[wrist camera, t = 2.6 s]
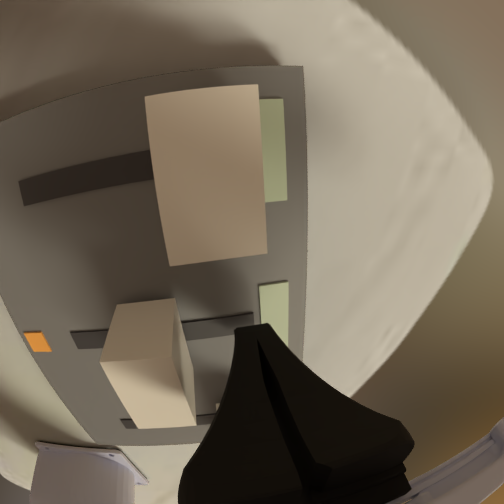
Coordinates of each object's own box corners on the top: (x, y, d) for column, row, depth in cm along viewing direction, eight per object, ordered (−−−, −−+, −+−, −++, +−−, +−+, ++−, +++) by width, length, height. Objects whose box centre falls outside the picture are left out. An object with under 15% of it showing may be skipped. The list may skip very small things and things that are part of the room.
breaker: (176, 221, 10) (169, 266, 7) (162, 102, 8) (144, 96, 5) (247, 212, 10) (267, 253, 8) (238, 94, 9) (257, 84, 6)
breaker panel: (100, 422, 18) (97, 445, 16) (-17, 136, 9) (-44, 143, 7) (289, 405, 19) (297, 428, 18) (286, 72, 11) (304, 65, 9)
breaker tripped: (143, 373, 13) (138, 428, 10) (117, 304, 11) (99, 361, 8) (193, 368, 13) (196, 425, 10) (175, 297, 11) (171, 356, 8)
